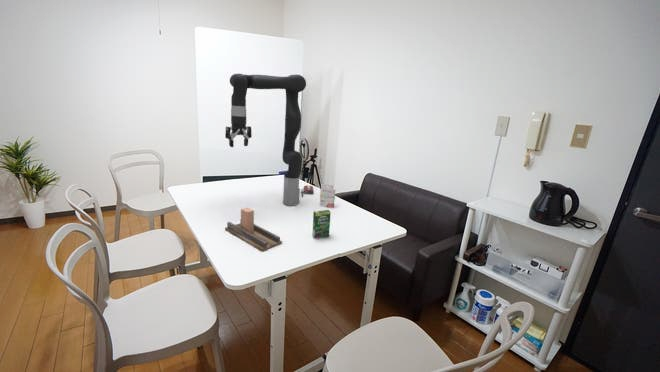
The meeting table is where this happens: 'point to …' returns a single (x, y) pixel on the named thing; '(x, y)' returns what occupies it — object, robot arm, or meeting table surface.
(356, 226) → the meeting table surface
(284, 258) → the meeting table surface
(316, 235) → the coffee box
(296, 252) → the meeting table surface
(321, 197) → the ink cartridge box
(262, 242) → the door track
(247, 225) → the light orange-brown block
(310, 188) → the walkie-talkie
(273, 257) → the meeting table surface
